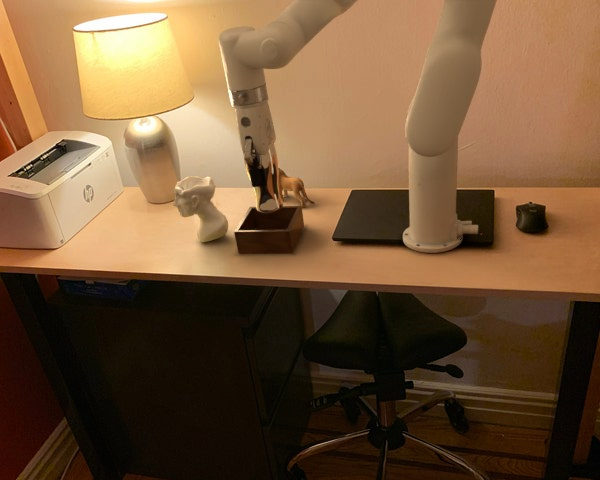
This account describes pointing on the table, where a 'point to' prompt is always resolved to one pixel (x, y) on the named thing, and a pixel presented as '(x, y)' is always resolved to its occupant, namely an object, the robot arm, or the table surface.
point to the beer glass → (268, 182)
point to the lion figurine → (292, 187)
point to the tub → (269, 231)
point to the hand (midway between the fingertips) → (264, 178)
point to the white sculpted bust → (201, 206)
